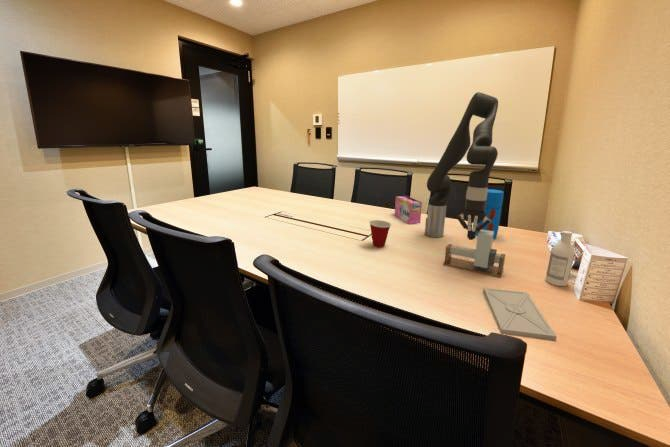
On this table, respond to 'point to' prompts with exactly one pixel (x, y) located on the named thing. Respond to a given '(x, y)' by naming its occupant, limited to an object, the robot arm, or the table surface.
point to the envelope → (517, 314)
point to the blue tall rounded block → (492, 211)
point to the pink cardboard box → (408, 209)
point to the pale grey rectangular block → (483, 248)
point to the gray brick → (491, 257)
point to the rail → (469, 265)
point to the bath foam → (561, 261)
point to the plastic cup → (379, 232)
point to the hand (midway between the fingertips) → (470, 239)
